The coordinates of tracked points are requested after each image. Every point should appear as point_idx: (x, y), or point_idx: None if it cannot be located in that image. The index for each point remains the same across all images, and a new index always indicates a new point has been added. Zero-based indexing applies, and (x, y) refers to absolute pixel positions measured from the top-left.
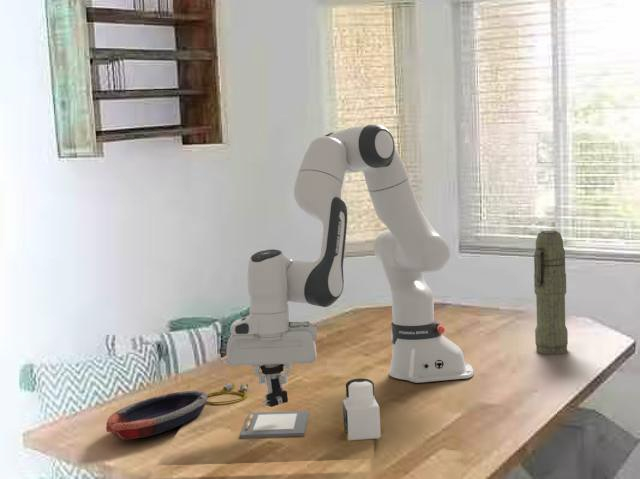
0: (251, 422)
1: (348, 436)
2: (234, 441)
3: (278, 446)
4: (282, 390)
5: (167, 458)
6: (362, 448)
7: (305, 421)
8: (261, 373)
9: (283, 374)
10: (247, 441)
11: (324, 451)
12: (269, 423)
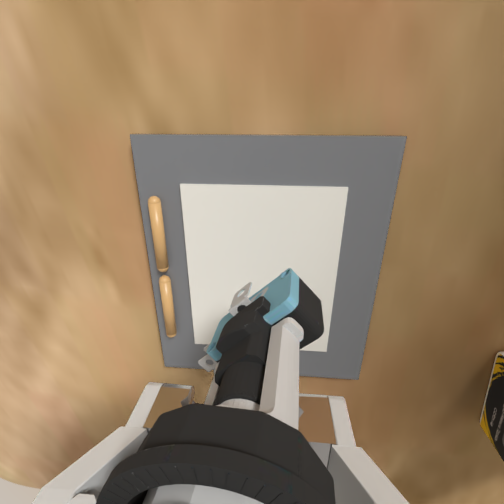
0: (171, 263)
1: (487, 435)
2: (158, 377)
3: None
4: (298, 321)
5: (41, 440)
6: (498, 465)
7: (374, 281)
8: (136, 440)
9: (324, 450)
10: (194, 382)
11: (396, 464)
12: (240, 294)
